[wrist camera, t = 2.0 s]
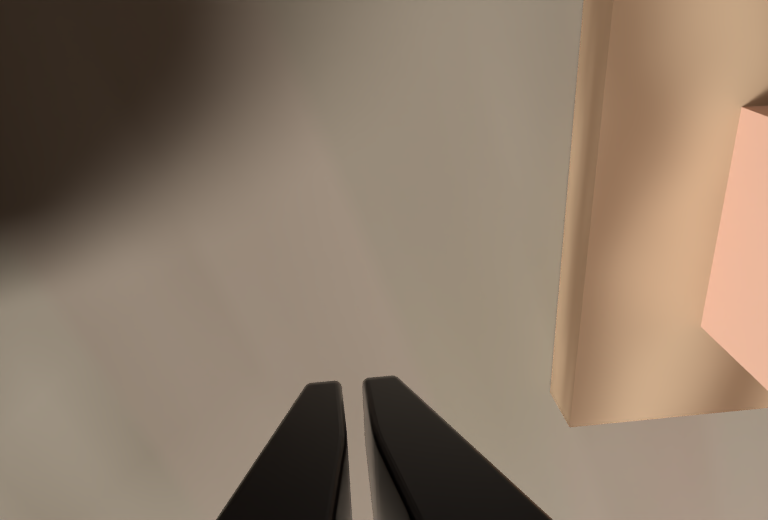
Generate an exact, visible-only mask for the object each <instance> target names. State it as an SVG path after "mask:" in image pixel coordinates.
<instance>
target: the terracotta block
mask: <svg viewBox="0 0 768 520" xmlns="http://www.w3.org/2000/svg"><path fill="white" fill-rule="evenodd" d="M701 327H702V328H703V329H704V330H705V331H706V332H707V333H708V334H709V335H710V336H711V337H712V338H713V339H714V340H715V341H716V342H717V343H718V344H719V345H720V346H721V347H723V348H724V349H725V350H726V351H727V352H728V353H729V354H730V355H731V356H732V357H733V358H734V359H735V360H736V361H737V362H738V363H739V364H740V365H741V366H742V367H743V368H745V369H746V370H747V371H748V372H749V373H750V374H751V375H752V376H753V377H754V378H755V379H756V380H757V381H758V382H759V383H760V384H761V385H762V386H763V387H764V388H765V389H767V390H768V106H751V107H741V113H740V118H739V123H738V129H737V134H736V139H735V145H734V150H733V156H732V161H731V166H730V172H729V177H728V182H727V188H726V193H725V198H724V204H723V209H722V215H721V220H720V225H719V231H718V236H717V241H716V247H715V252H714V257H713V263H712V268H711V274H710V279H709V284H708V290H707V295H706V300H705V306H704V311H703V316H702V322H701Z"/></svg>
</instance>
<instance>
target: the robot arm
mask: <svg viewBox="0 0 768 520" xmlns="http://www.w3.org/2000/svg"><path fill="white" fill-rule="evenodd" d="M363 409H364V429H365V444H366V455H367V464H368V473H369V482H370V491H371V500H372V509H373V519H374V520H553V519H552V518H550V517H549V516H548V515H547V514H546V513H545V512H544V511H543V510H542V509H541V508H540V507H538V506H537V505H536V504H535V503H534V502H533V501H532V500H531V499H530V498H529V497H528V496H526V495H525V494H524V493H523V492H522V491H521V490H520V489H519V488H518V487H517V486H516V485H514V484H513V483H512V482H511V481H510V480H509V479H508V478H507V477H506V476H505V475H504V474H502V473H501V472H500V471H499V470H498V469H497V468H496V467H495V466H494V465H493V464H492V463H490V462H489V461H488V460H487V459H486V458H485V457H484V456H483V455H482V454H481V453H480V452H478V451H477V450H476V449H475V448H474V447H473V446H472V445H471V444H470V443H469V442H468V441H466V440H465V439H464V438H463V437H462V436H461V435H460V434H459V433H458V432H457V431H456V430H455V429H453V428H452V427H451V426H450V425H449V424H448V423H447V422H446V421H445V420H444V419H443V418H441V417H440V416H439V415H438V414H437V413H436V412H435V411H434V410H433V409H432V408H431V407H429V406H428V405H427V404H426V403H425V402H424V401H423V400H422V399H421V398H420V397H419V396H417V395H416V394H415V393H414V392H413V391H412V390H411V389H410V388H409V387H408V386H407V385H405V384H404V383H403V382H402V381H401V380H400V379H399V378H398V377H396V376H383V377H372V378H366V379H365V380H364V381H363ZM216 520H352V509H351V493H350V477H349V461H348V446H347V431H346V422H345V413H344V404H343V395H342V387H341V384H340V383H339V382H338V381H327V382H316V383H309V384H307V385H306V386H305V387H304V389H303V390H302V392H301V393H300V395H299V396H298V398H297V399H296V401H295V402H294V404H293V405H292V407H291V408H290V410H289V411H288V413H287V414H286V416H285V417H284V419H283V420H282V422H281V423H280V425H279V426H278V428H277V429H276V431H275V432H274V434H273V435H272V437H271V438H270V440H269V441H268V443H267V444H266V446H265V447H264V449H263V450H262V452H261V453H260V455H259V456H258V458H257V459H256V461H255V462H254V464H253V465H252V467H251V468H250V470H249V471H248V473H247V474H246V476H245V477H244V479H243V480H242V482H241V483H240V485H239V486H238V488H237V489H236V491H235V492H234V494H233V495H232V497H231V498H230V500H229V501H228V503H227V504H226V506H225V507H224V509H223V510H222V512H221V513H220V515H219V516H218V518H217V519H216Z"/></svg>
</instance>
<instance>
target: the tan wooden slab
mask: <svg viewBox="0 0 768 520" xmlns="http://www.w3.org/2000/svg"><path fill="white" fill-rule="evenodd" d="M751 106H768V0H584V2H583V14H582V26H581V37H580V49H579V61H578V72H577V84H576V96H575V107H574V119H573V131H572V142H571V154H570V166H569V178H568V189H567V201H566V213H565V224H564V236H563V248H562V259H561V271H560V283H559V294H558V306H557V318H556V329H555V341H554V353H553V364H552V376H551V388H550V393H551V395H552V397H553V398H554V400H555V402H556V404H557V405H558V407H559V409H560V411H561V413H562V414H563V416H564V418H565V420H566V421H567V423H568V425H569V427H577V426H587V425H598V424H608V423H618V422H628V421H638V420H648V419H658V418H669V417H679V416H689V415H699V414H709V413H719V412H729V411H740V410H750V409H760V408H768V390H767V389H765V388H764V387H763V386H762V385H761V384H760V383H759V382H758V381H757V380H756V379H755V378H754V377H753V376H752V375H751V374H750V373H749V372H748V371H747V370H746V369H745V368H743V367H742V366H741V365H740V364H739V363H738V362H737V361H736V360H735V359H734V358H733V357H732V356H731V355H730V354H729V353H728V352H727V351H726V350H725V349H724V348H723V347H721V346H720V345H719V344H718V343H717V342H716V341H715V340H714V339H713V338H712V337H711V336H710V335H709V334H708V333H707V332H706V331H705V330H704V329H703V328H702V327H701V322H702V316H703V311H704V306H705V300H706V295H707V290H708V284H709V279H710V274H711V268H712V263H713V257H714V252H715V247H716V241H717V236H718V231H719V225H720V220H721V215H722V209H723V204H724V198H725V193H726V188H727V182H728V177H729V172H730V166H731V161H732V156H733V150H734V145H735V139H736V134H737V129H738V123H739V118H740V113H741V107H751Z"/></svg>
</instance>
